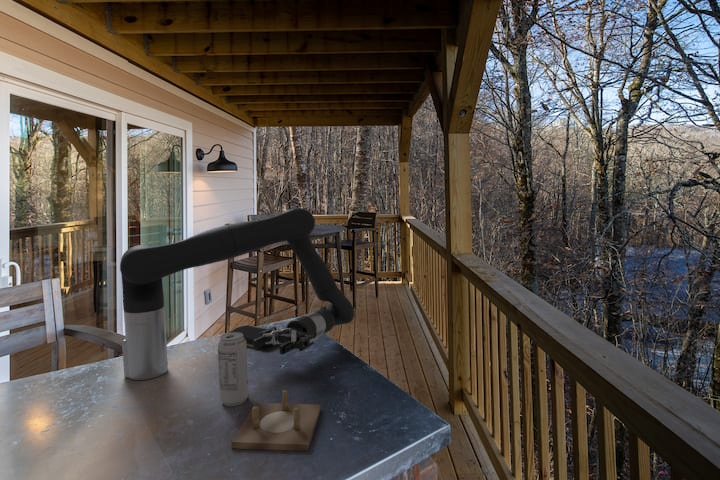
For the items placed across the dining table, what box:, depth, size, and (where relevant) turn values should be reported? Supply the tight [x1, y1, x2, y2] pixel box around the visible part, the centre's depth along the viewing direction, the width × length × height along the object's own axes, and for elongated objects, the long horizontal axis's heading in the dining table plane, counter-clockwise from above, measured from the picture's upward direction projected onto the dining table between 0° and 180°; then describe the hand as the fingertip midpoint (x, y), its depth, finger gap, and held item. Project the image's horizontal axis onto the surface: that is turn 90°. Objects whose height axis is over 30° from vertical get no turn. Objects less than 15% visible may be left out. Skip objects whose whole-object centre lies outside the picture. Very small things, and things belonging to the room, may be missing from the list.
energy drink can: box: [217, 331, 249, 407], centre depth 89 cm, size 6×6×15 cm
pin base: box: [230, 389, 322, 452], centre depth 79 cm, size 14×14×5 cm
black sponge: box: [228, 325, 278, 350], centre depth 127 cm, size 16×8×4 cm, turn 60°
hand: (267, 347), depth 99 cm, fingers open, 8 cm apart
